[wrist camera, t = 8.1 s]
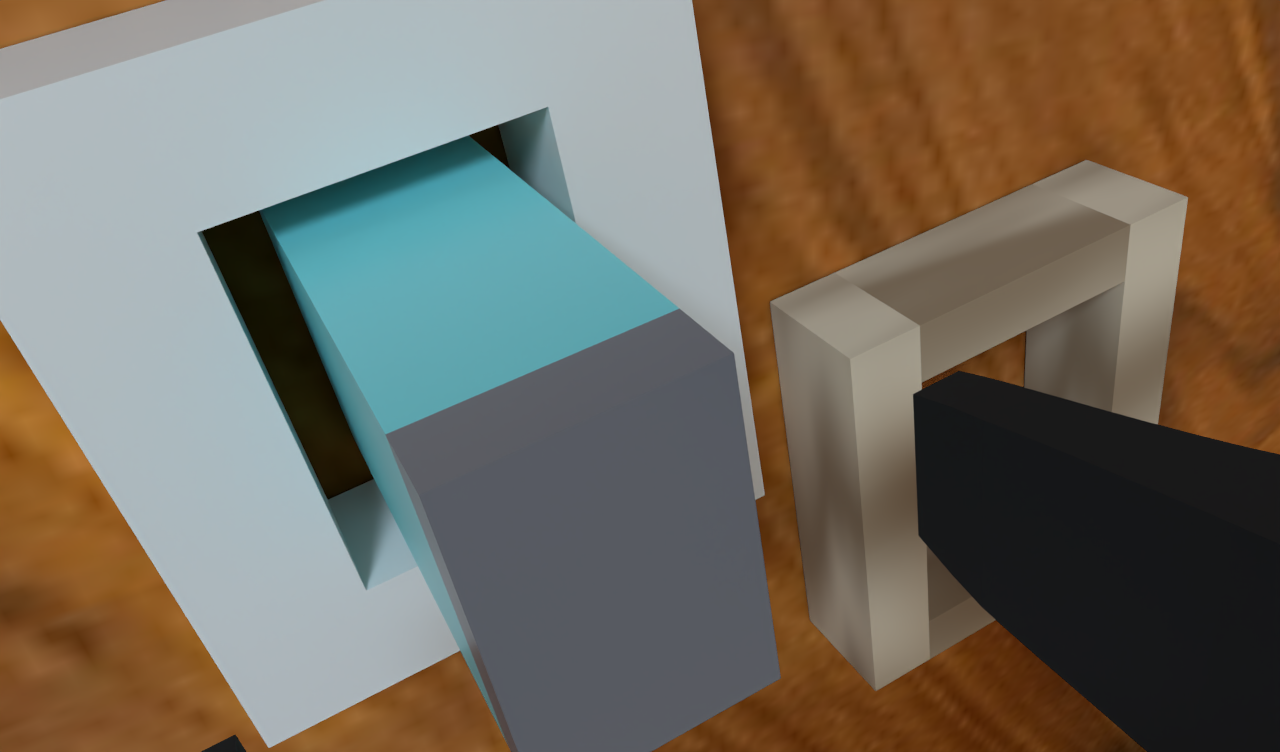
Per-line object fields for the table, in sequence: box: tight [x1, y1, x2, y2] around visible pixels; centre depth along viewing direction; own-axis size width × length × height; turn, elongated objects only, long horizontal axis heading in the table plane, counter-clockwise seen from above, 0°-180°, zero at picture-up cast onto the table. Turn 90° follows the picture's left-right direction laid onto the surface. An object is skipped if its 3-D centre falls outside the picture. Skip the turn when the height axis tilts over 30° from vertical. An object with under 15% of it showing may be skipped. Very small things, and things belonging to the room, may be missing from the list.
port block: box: [0, 0, 765, 748], centre depth 15 cm, size 10×9×2 cm
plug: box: [259, 136, 781, 752], centre depth 13 cm, size 4×3×8 cm, turn 11°
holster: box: [770, 160, 1188, 691], centre depth 23 cm, size 9×8×2 cm
